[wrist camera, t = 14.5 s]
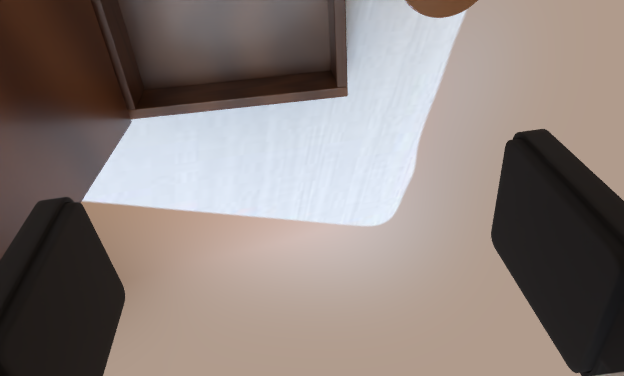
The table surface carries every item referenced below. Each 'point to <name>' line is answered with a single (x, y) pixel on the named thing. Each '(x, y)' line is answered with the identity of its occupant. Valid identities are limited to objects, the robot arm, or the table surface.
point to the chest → (223, 52)
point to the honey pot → (440, 7)
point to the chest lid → (53, 106)
